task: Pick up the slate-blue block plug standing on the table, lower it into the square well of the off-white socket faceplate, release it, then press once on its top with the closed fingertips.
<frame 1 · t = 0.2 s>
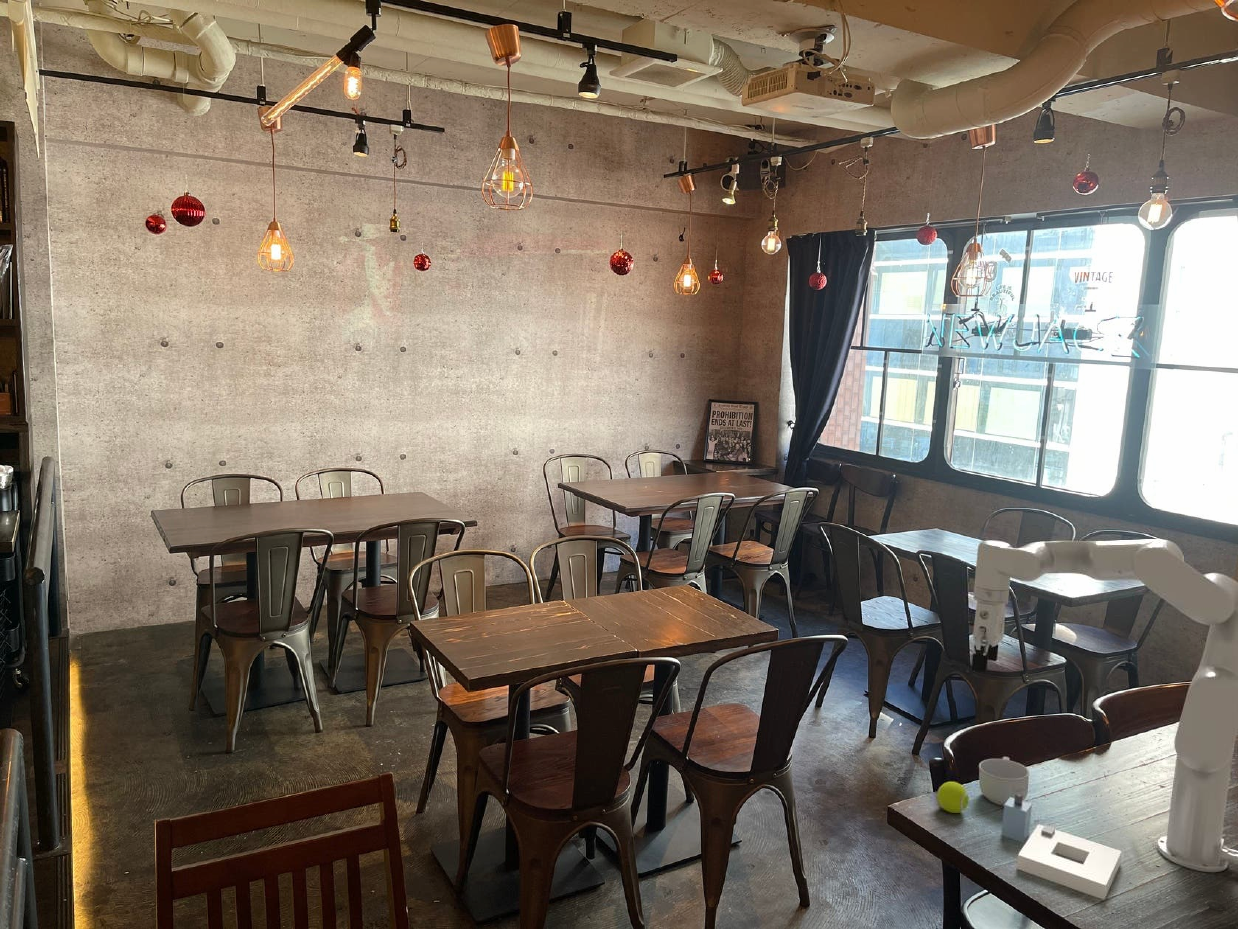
hand: (984, 665, 216), 31 cm above the table, tool pointing down, fingers open, 9 cm apart
plug: (1015, 834, 199), on the table
tennis ball: (951, 812, 208), on the table
socket: (1068, 866, 187), on the table
teacup: (1002, 798, 216), on the table
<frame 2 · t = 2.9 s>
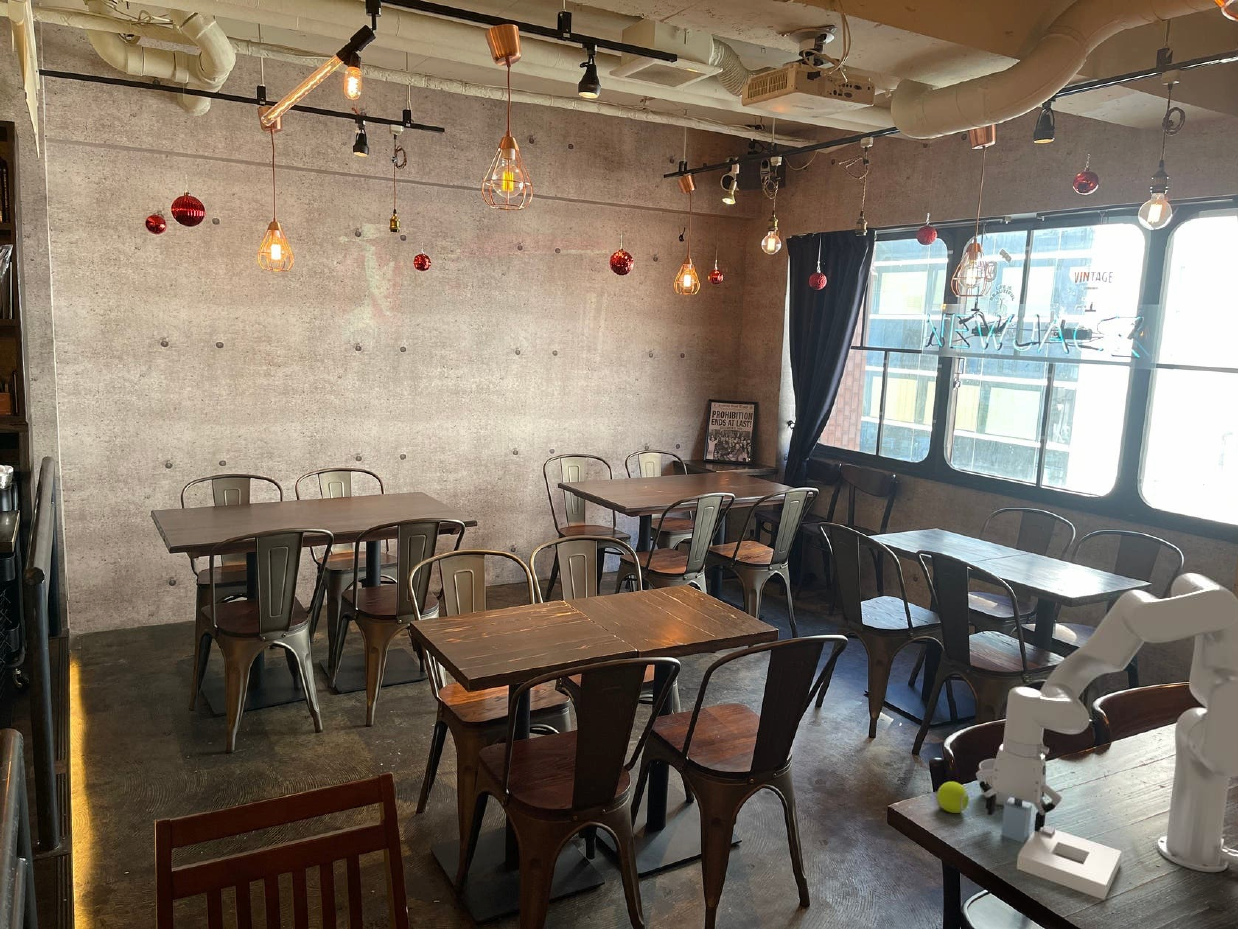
hand: (1013, 821, 199), 3 cm above the table, tool pointing down, fingers open, 9 cm apart
nothing on the table moved.
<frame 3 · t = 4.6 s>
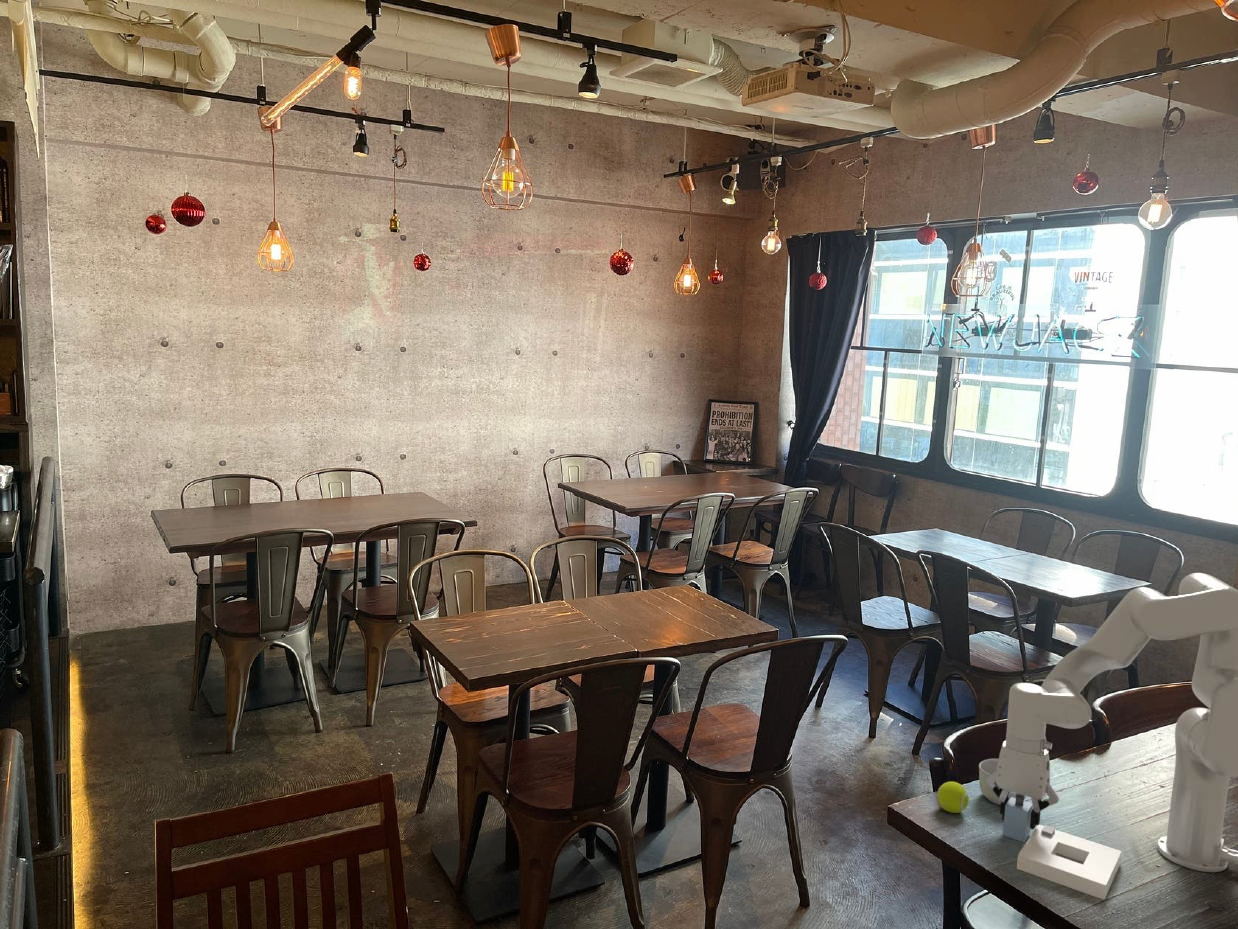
hand: (1019, 821, 198), 3 cm above the table, tool pointing down, fingers open, 5 cm apart
plug: (1016, 834, 199), on the table, touching gripper
everything else where it was.
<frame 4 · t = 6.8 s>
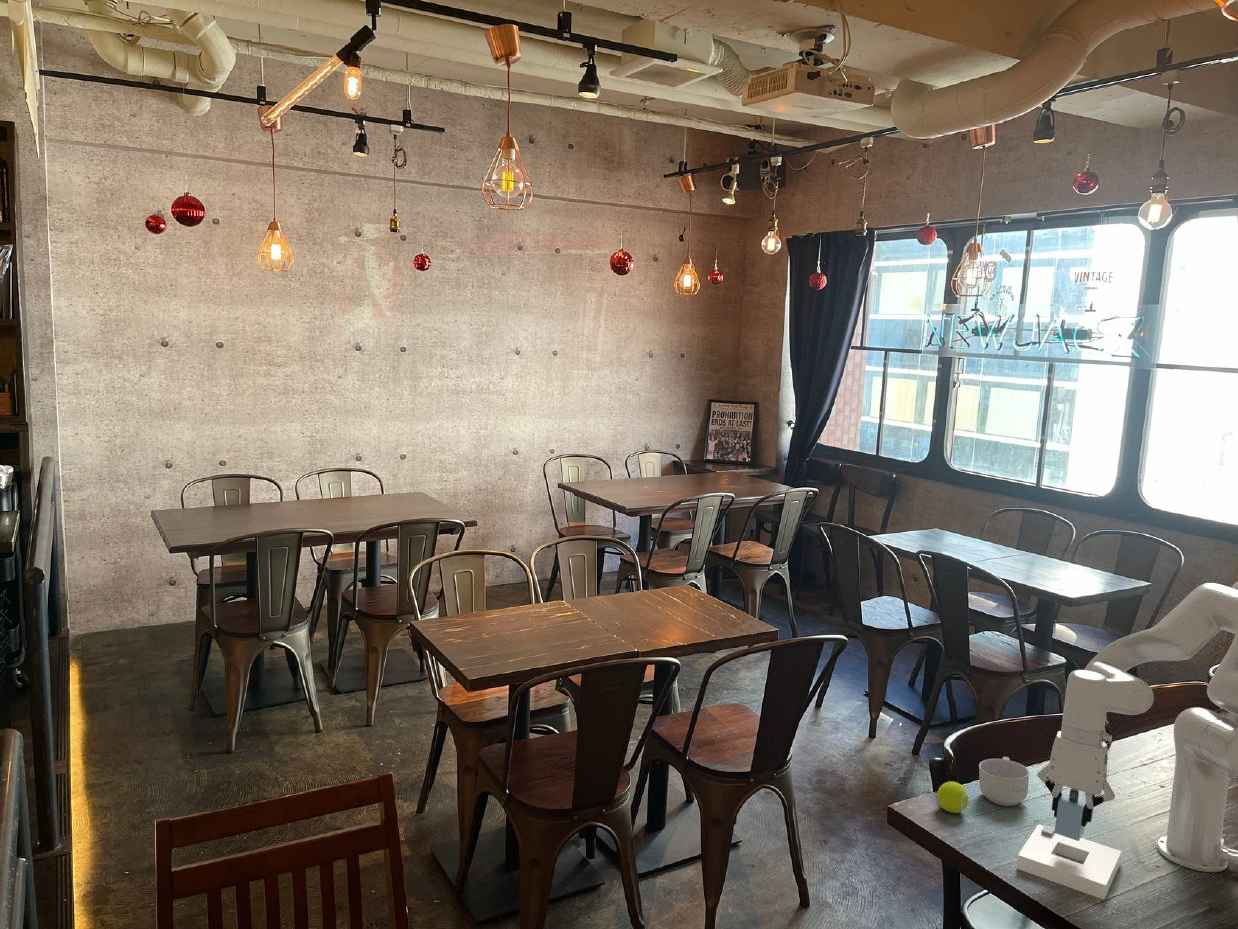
hand: (1070, 818, 186), 10 cm above the table, tool pointing down, fingers closed on plug, 4 cm apart
plug: (1068, 833, 186), point 7 cm above the table, touching gripper
everything else where it was.
when the fingers open (4 cm above the table, at t = 8.8 s): plug stays where it is, resting on socket.
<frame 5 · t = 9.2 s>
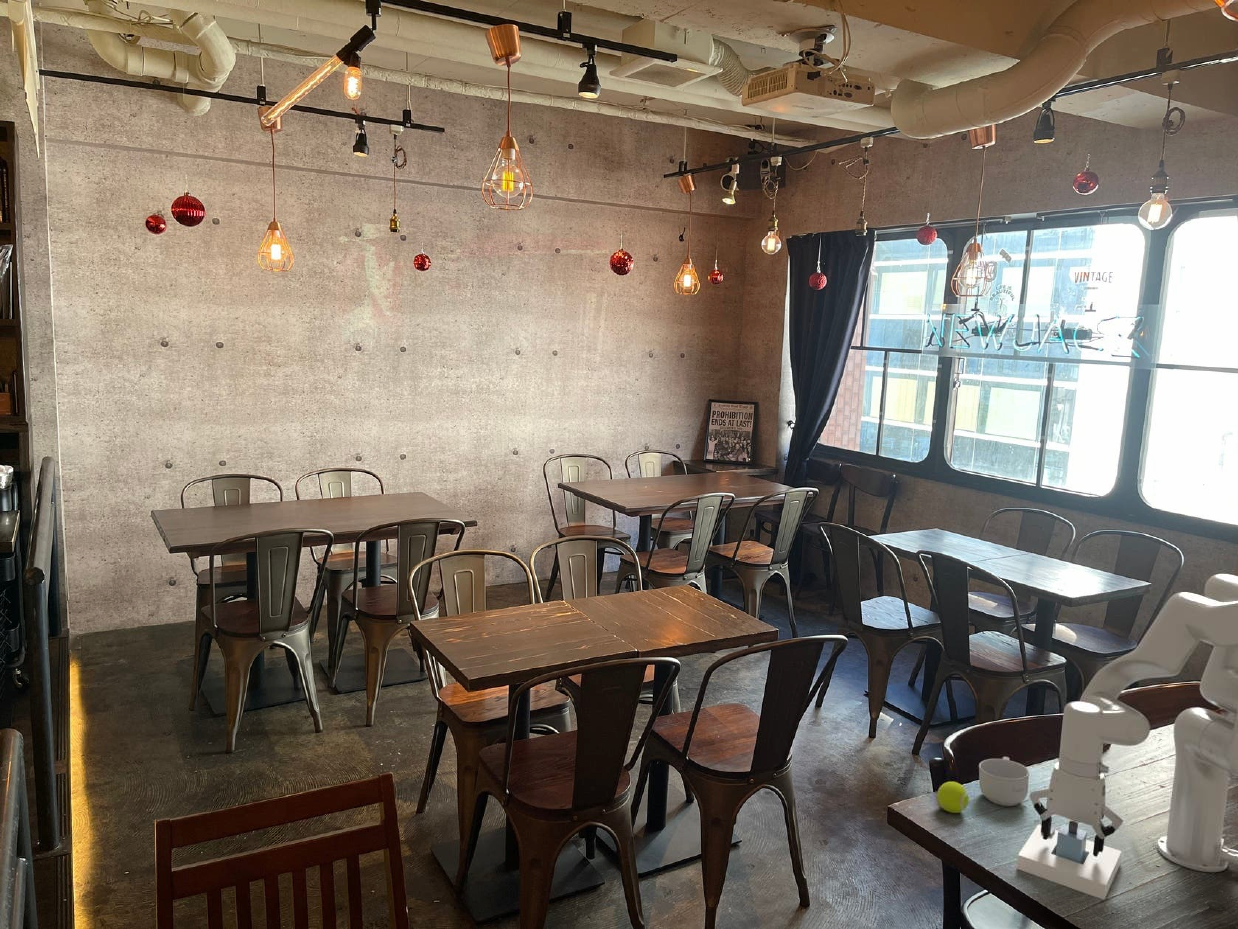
hand: (1071, 845, 186), 5 cm above the table, tool pointing down, fingers open, 9 cm apart
plug: (1069, 864, 187), resting on socket
everything else where it was.
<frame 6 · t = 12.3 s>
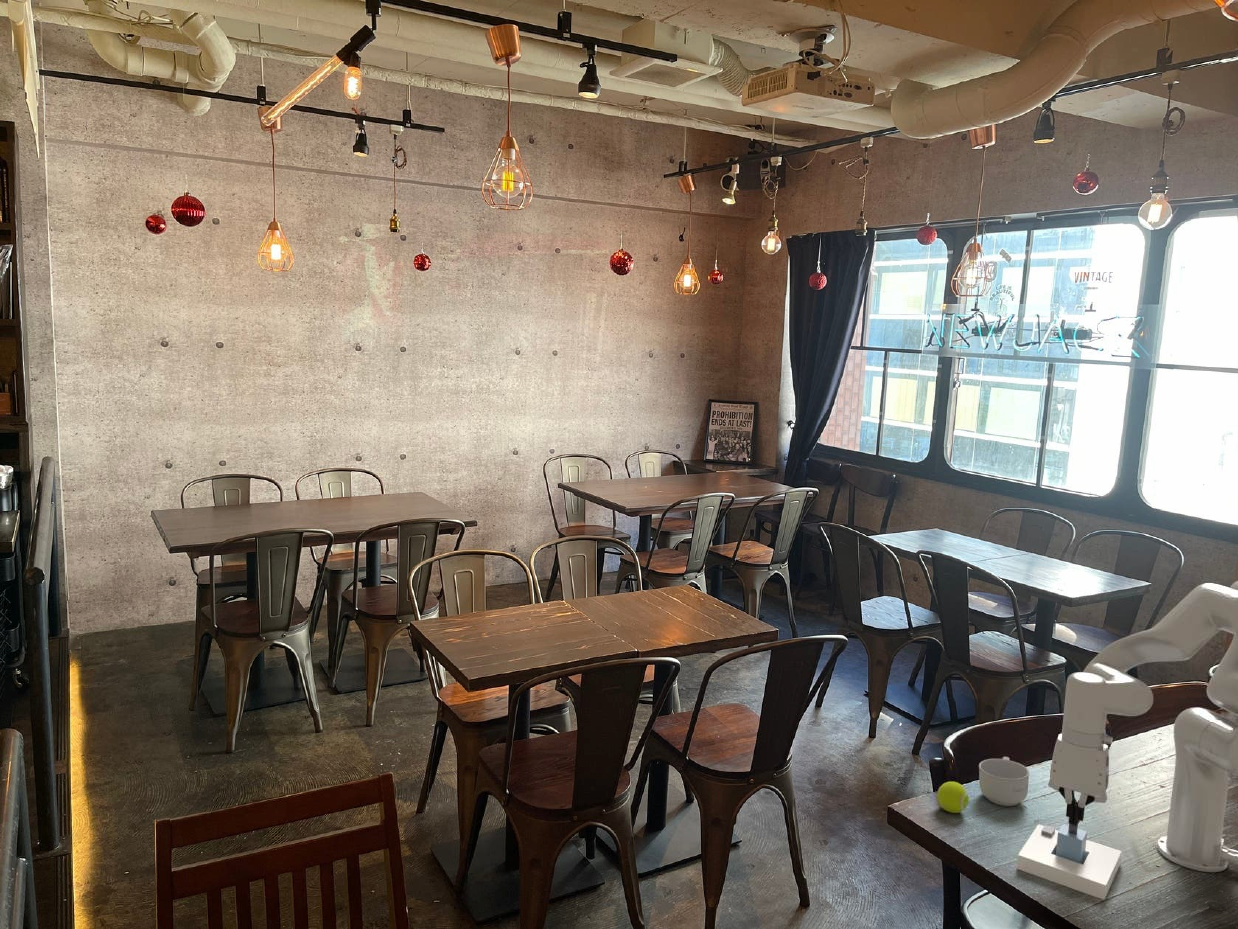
hand: (1074, 821, 186), 10 cm above the table, tool pointing down, fingers closed
nothing on the table moved.
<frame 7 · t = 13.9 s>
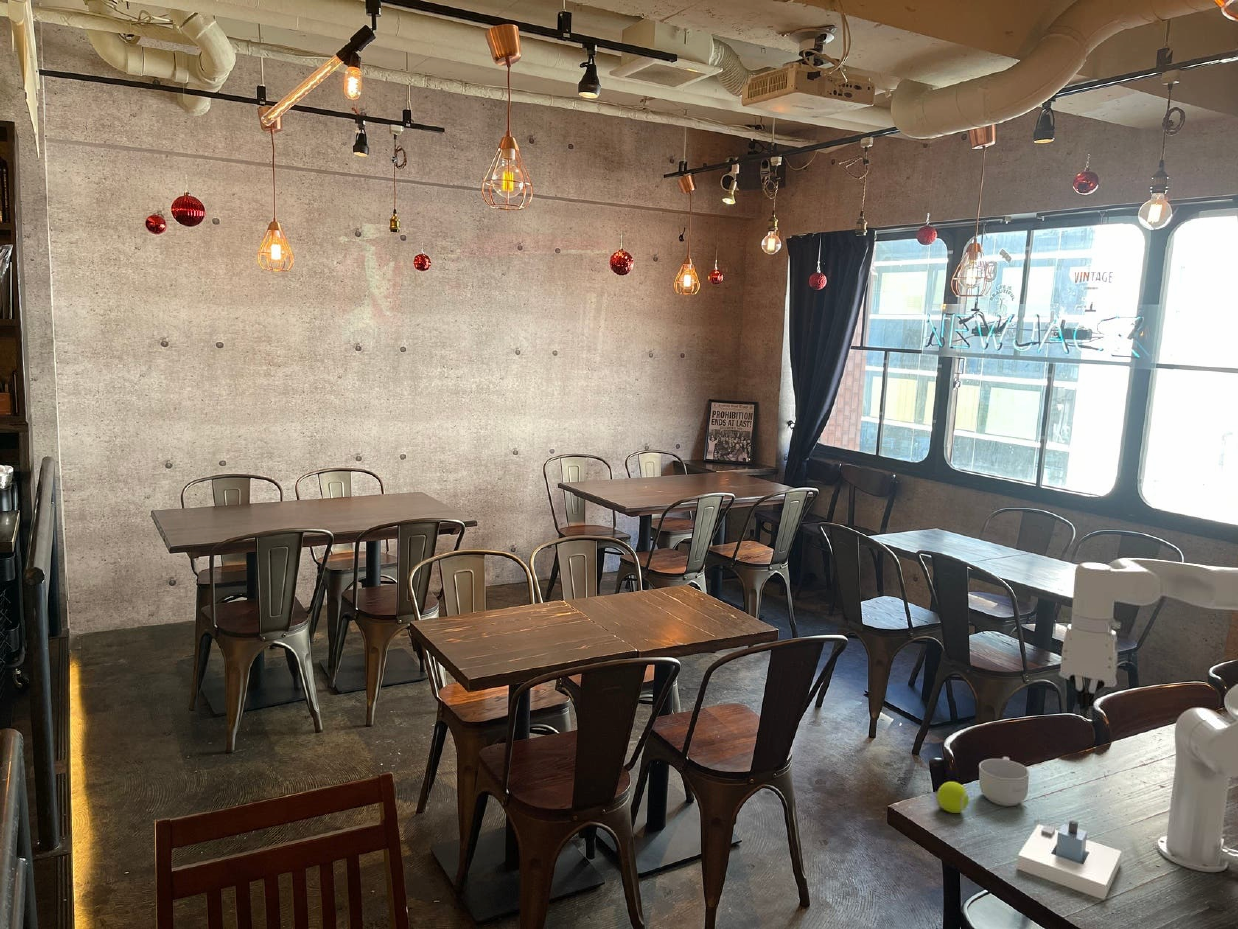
hand: (1084, 708, 192), 30 cm above the table, tool pointing down, fingers closed
nothing on the table moved.
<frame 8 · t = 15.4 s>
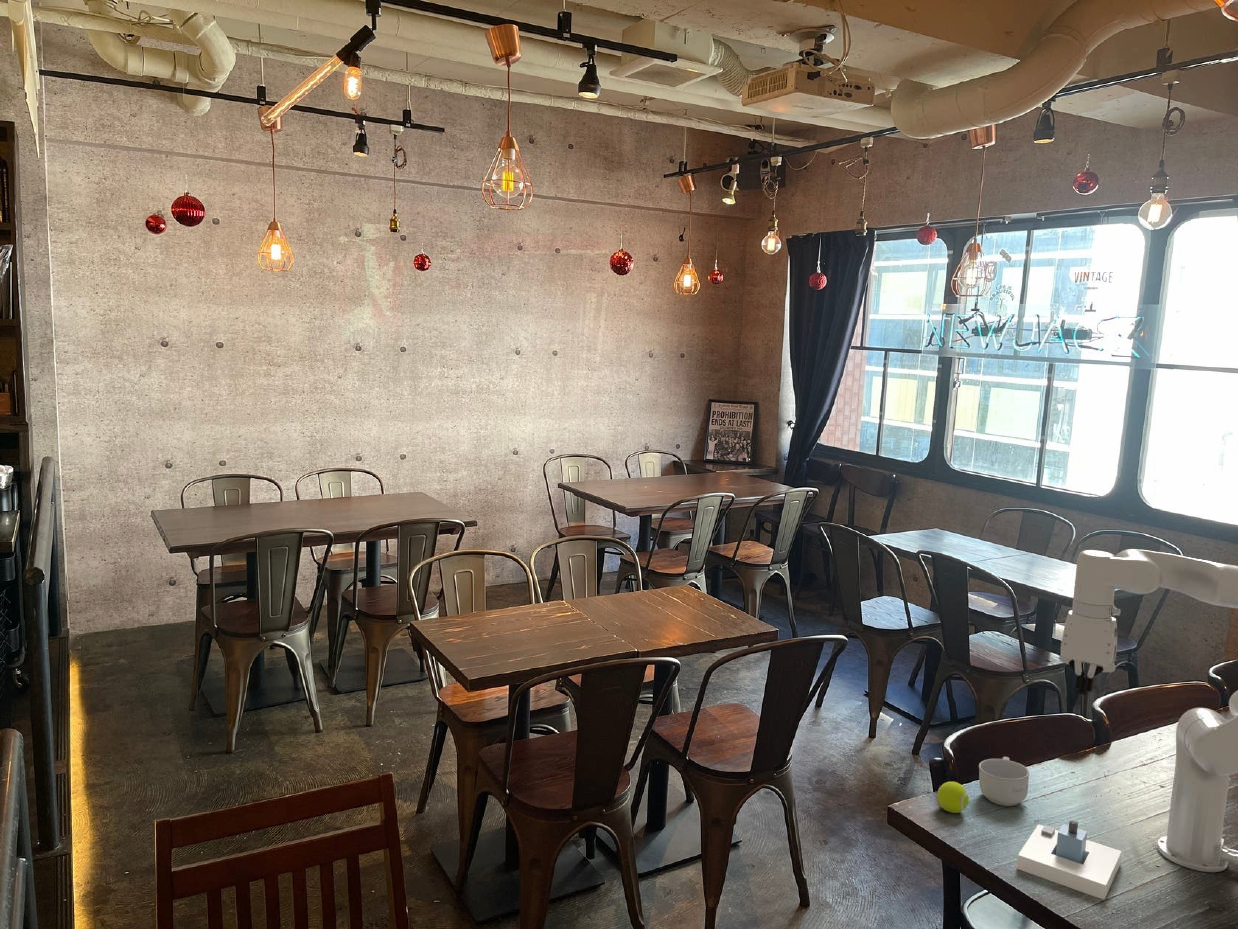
hand: (1083, 693, 196), 32 cm above the table, tool pointing down, fingers closed
nothing on the table moved.
at the end: plug 0.0 cm off-centre on the socket, point 0.5 cm above the socket's base; plug tilted 0°; the gripper is holding nothing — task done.
